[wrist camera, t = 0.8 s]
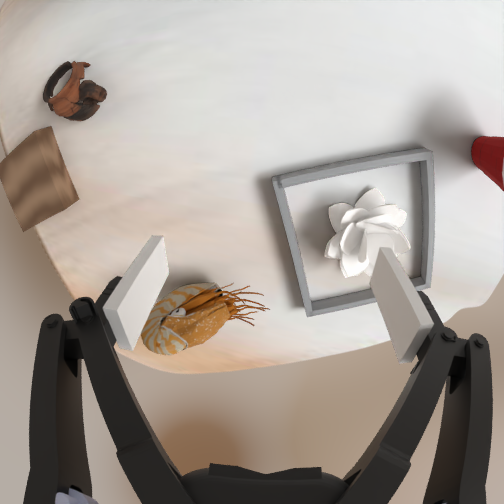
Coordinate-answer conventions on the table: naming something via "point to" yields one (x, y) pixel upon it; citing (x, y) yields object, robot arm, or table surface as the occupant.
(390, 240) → the lotus flower
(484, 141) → the plastic cup
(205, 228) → the table surface
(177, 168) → the table surface
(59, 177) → the brown wooden square block
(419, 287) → the slate frame
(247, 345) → the table surface
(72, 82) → the broken clay pottery vessel
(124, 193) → the table surface
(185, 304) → the nautilus
